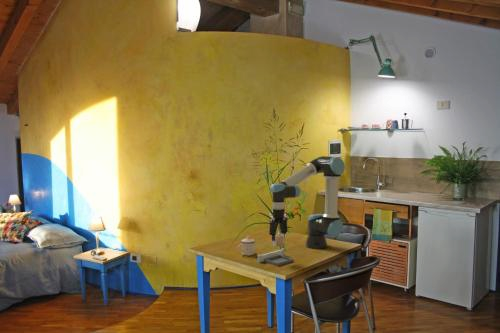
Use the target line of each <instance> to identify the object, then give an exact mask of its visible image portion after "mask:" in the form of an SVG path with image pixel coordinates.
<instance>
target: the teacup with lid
mask: <svg viewBox="0 0 500 333" xmlns="http://www.w3.org/2000/svg"><path fill="white" fill-rule="evenodd" d="M255 240H256V239H253V238H251V237H250V236H249V235H247V236H246V238H244V239H241V243H240V244H238V246H237V249H238V251H239V252H241V254H242V255H243V256H253V255H255V249H256V246H255V245H256V244H255V242H256V241H255ZM240 247H241V249H240Z"/></svg>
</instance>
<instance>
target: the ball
mask: <svg viewBox="0 0 500 333" xmlns="http://www.w3.org/2000/svg"><path fill="white" fill-rule="evenodd" d="M275 236H276V246H282V245H284V244H283V241H284V242H285V239H283V237H282V236H280V235H279V234H276V235H275Z"/></svg>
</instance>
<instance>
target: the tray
mask: <svg viewBox="0 0 500 333" xmlns="http://www.w3.org/2000/svg"><path fill="white" fill-rule="evenodd" d="M263 262H264V263H266V264H269V265H273V266H276V267H280V266H283V265H286V264H290V263H293V262H294V258H291V257H288V256H286V255H285V256H281V255H278V256H274V257H271V258H267V259H264V261H263Z"/></svg>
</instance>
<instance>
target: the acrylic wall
mask: <svg viewBox="0 0 500 333" xmlns="http://www.w3.org/2000/svg"><path fill="white" fill-rule="evenodd" d="M285 249H286V248H282V247H281V248H280V249H279V250H275V251H271V252H267V253H263V254H257V256H256V258H257V263H263V262H264V259H267V258H271V257H274V256H278V255H281V256H285V257H286V255H285V254H286V252H285V251H286V250H285Z"/></svg>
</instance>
